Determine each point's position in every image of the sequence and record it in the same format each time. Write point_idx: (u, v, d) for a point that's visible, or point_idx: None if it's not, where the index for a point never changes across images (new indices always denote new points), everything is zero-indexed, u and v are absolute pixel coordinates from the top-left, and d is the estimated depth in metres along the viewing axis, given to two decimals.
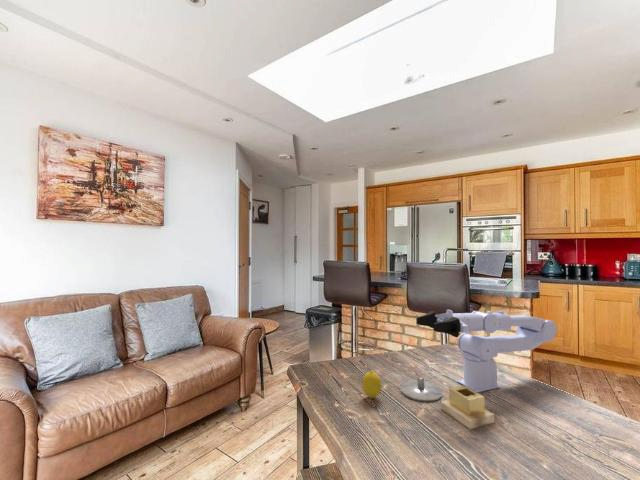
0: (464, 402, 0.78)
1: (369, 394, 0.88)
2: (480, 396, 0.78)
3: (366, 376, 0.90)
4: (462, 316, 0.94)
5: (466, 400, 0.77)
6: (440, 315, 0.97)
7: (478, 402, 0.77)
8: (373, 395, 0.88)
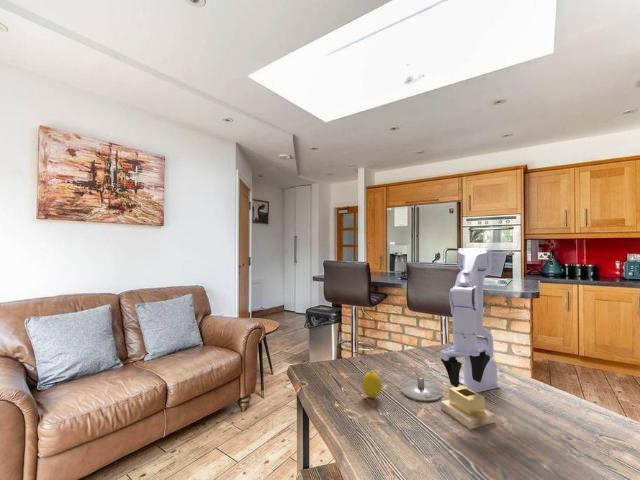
0: (464, 402, 0.78)
1: (369, 394, 0.88)
2: (480, 396, 0.78)
3: (366, 376, 0.90)
4: (476, 338, 0.79)
5: (466, 400, 0.77)
6: None
7: (478, 402, 0.77)
8: (373, 395, 0.88)
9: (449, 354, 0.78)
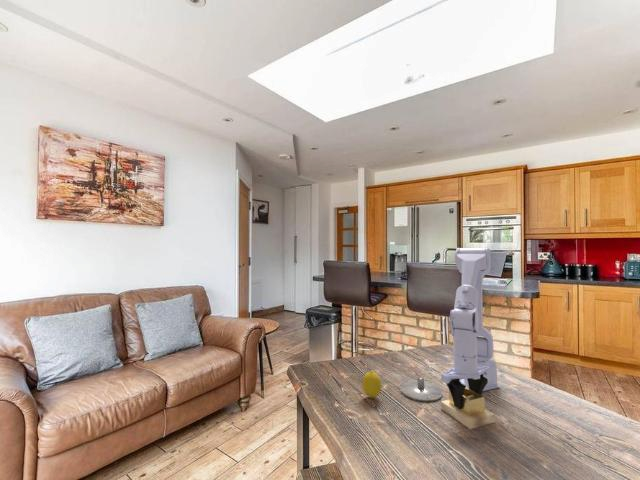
0: (464, 402, 0.78)
1: (369, 394, 0.88)
2: (480, 396, 0.78)
3: (366, 376, 0.90)
4: (477, 360, 0.79)
5: (466, 400, 0.77)
6: None
7: (478, 402, 0.77)
8: (373, 395, 0.88)
9: (450, 377, 0.78)
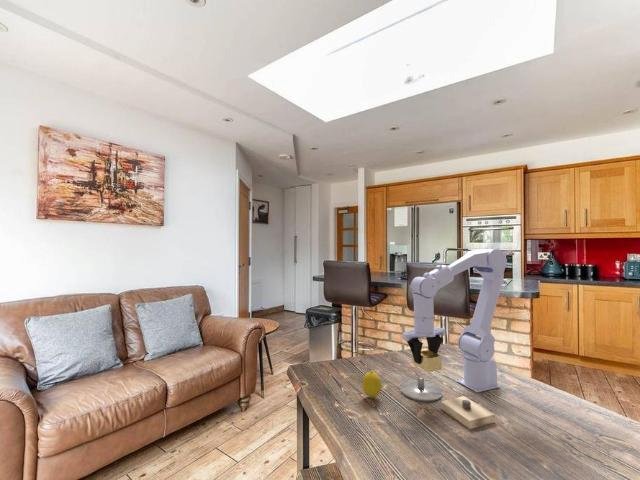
0: (423, 360, 0.89)
1: (369, 394, 0.88)
2: (438, 355, 0.89)
3: (366, 376, 0.90)
4: (433, 321, 0.91)
5: (425, 358, 0.88)
6: None
7: (435, 361, 0.88)
8: (373, 395, 0.88)
9: (409, 335, 0.89)
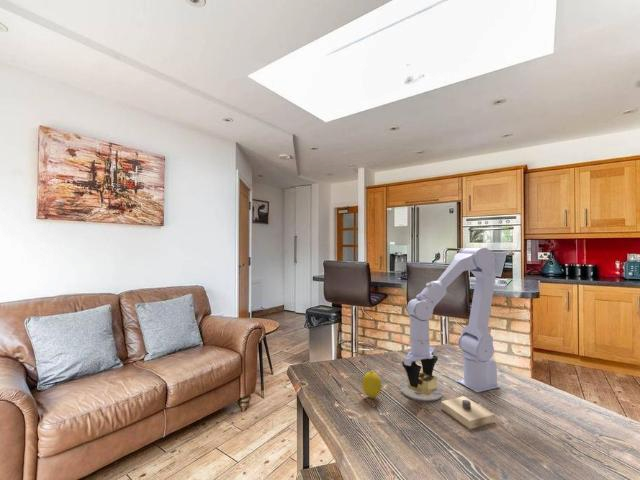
0: (423, 384, 0.90)
1: (369, 394, 0.88)
2: (433, 377, 0.92)
3: (366, 376, 0.90)
4: None
5: (425, 382, 0.90)
6: None
7: (433, 382, 0.91)
8: (373, 395, 0.88)
9: (411, 360, 0.89)
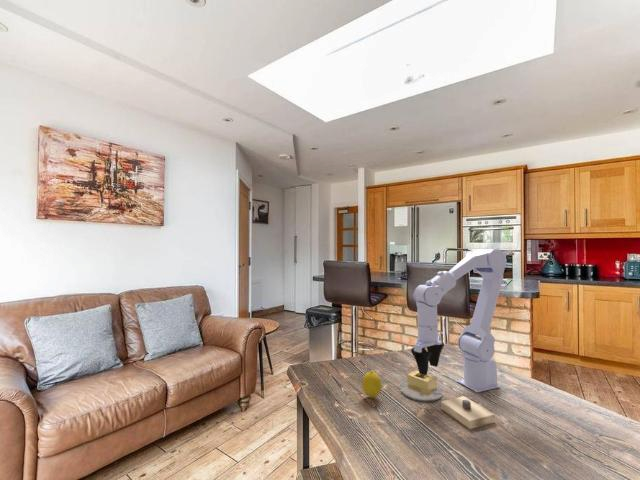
0: (423, 384, 0.90)
1: (369, 394, 0.88)
2: (433, 377, 0.92)
3: (366, 376, 0.90)
4: None
5: (425, 382, 0.90)
6: None
7: (433, 382, 0.91)
8: (373, 395, 0.88)
9: (422, 346, 0.87)
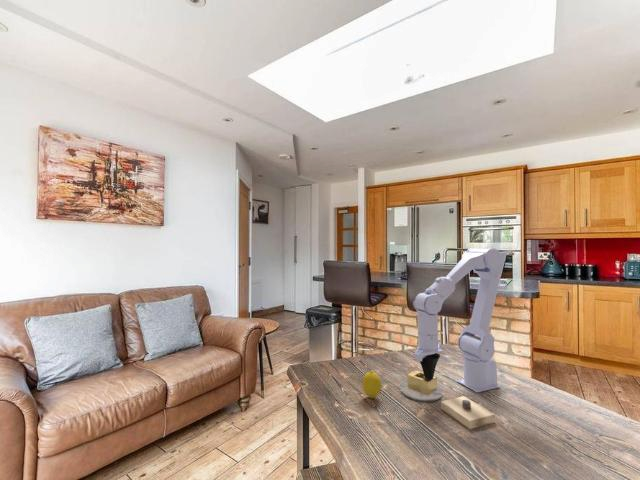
0: (423, 384, 0.90)
1: (369, 394, 0.88)
2: (433, 377, 0.92)
3: (366, 376, 0.90)
4: None
5: (425, 382, 0.90)
6: None
7: (433, 382, 0.91)
8: (373, 395, 0.88)
9: (422, 355, 0.87)
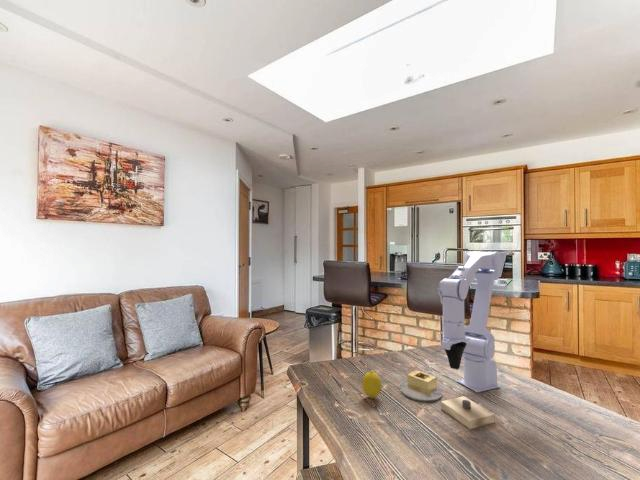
0: (423, 384, 0.90)
1: (369, 394, 0.88)
2: (433, 377, 0.92)
3: (366, 376, 0.90)
4: None
5: (425, 382, 0.90)
6: None
7: (433, 382, 0.91)
8: (373, 395, 0.88)
9: (451, 343, 0.82)
